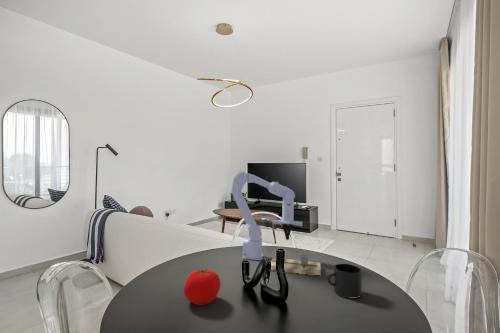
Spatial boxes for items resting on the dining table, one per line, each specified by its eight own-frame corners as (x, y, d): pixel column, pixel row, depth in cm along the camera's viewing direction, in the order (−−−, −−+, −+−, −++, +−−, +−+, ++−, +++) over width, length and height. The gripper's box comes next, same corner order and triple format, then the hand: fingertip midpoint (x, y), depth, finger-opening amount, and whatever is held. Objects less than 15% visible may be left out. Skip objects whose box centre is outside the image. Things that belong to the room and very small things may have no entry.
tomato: (176, 305, 85) (177, 273, 85) (198, 290, 96) (199, 261, 96) (206, 314, 80) (206, 279, 80) (225, 296, 91) (226, 266, 91)
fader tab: (300, 265, 116) (301, 256, 116) (301, 261, 120) (301, 253, 120) (307, 265, 115) (308, 257, 115) (308, 262, 119) (308, 254, 119)
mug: (324, 286, 101) (324, 263, 101) (355, 287, 101) (355, 263, 101) (331, 298, 92) (331, 272, 92) (365, 299, 91) (366, 273, 92)
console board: (268, 270, 116) (269, 264, 116) (272, 262, 126) (272, 257, 126) (320, 276, 111) (320, 270, 111) (320, 267, 120) (320, 262, 121)
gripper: (272, 212, 131) (271, 240, 131) (302, 214, 128) (301, 242, 128) (274, 210, 138) (274, 236, 138) (302, 212, 135) (302, 238, 134)
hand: (287, 239), depth 133 cm, fingers closed
